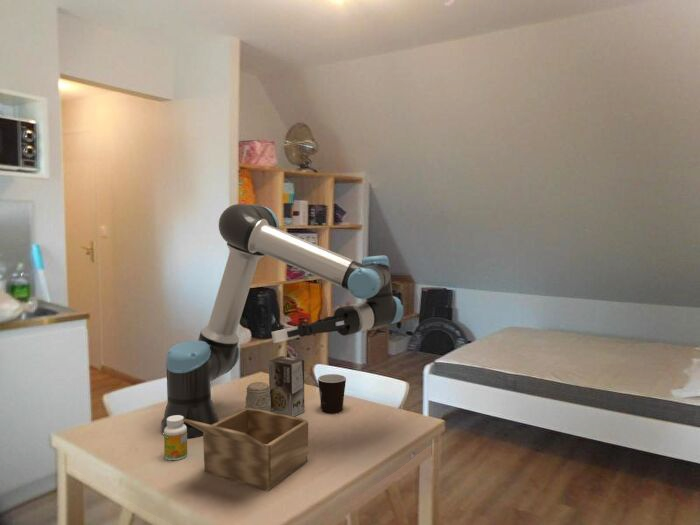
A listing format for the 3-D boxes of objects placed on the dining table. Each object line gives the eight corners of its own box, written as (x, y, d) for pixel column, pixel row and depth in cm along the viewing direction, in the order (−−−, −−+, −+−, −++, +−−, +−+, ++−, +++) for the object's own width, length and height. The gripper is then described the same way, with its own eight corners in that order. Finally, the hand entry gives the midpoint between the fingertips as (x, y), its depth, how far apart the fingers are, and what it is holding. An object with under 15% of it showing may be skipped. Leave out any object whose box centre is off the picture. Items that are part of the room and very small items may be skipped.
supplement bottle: (159, 459, 129) (158, 420, 128) (174, 450, 134) (173, 412, 133) (177, 462, 127) (176, 423, 126) (192, 453, 132) (191, 415, 132)
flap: (204, 429, 121) (203, 431, 121) (183, 418, 115) (182, 420, 115) (264, 444, 113) (263, 446, 113) (245, 433, 107) (244, 435, 107)
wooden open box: (202, 471, 123) (201, 429, 122) (247, 444, 137) (247, 407, 137) (270, 491, 114) (269, 446, 113) (310, 460, 129) (310, 420, 128)
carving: (265, 431, 146) (265, 389, 145) (240, 428, 148) (240, 386, 147) (274, 423, 152) (274, 382, 151) (250, 420, 154) (250, 380, 153)
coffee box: (305, 411, 161) (305, 359, 160) (292, 418, 156) (291, 364, 155) (282, 405, 166) (281, 355, 165) (268, 412, 161) (268, 359, 160)
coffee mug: (342, 416, 157) (342, 383, 157) (314, 414, 159) (314, 381, 158) (350, 403, 169) (350, 372, 168) (324, 401, 171) (324, 370, 170)
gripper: (370, 331, 135) (289, 352, 121) (342, 334, 146) (264, 353, 132) (364, 302, 135) (283, 319, 122) (336, 307, 146) (259, 323, 132)
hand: (273, 337), depth 127 cm, fingers closed
